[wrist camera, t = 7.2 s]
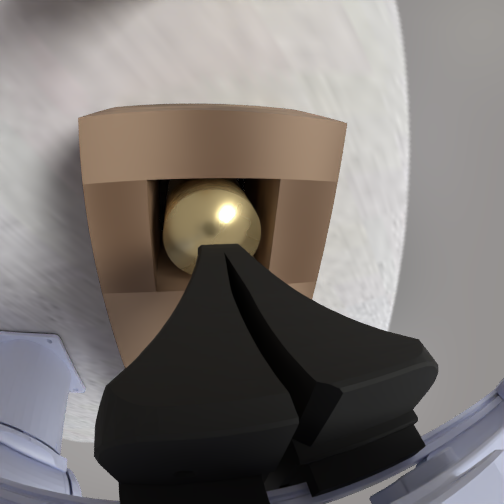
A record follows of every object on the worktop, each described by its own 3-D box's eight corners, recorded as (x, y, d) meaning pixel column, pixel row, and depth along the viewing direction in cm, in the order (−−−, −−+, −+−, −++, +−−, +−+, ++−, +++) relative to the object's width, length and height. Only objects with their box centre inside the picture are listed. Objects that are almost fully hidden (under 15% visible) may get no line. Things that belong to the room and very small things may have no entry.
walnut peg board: (150, 377, 24) (152, 434, 19) (114, 107, 13) (78, 117, 8) (258, 368, 27) (275, 422, 22) (294, 109, 16) (347, 123, 11)
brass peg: (168, 225, 17) (166, 280, 13) (167, 158, 15) (160, 191, 11) (235, 223, 18) (256, 275, 13) (239, 158, 16) (265, 189, 11)
